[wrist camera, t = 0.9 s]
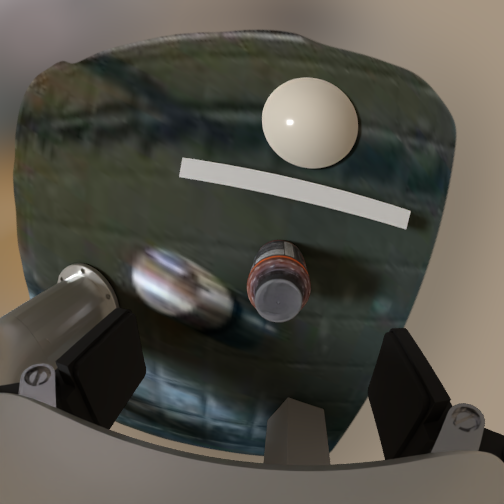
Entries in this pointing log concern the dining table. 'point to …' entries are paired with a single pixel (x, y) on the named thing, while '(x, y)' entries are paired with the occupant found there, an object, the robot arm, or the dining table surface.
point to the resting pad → (310, 123)
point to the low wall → (294, 190)
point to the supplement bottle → (278, 281)
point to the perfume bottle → (297, 435)
